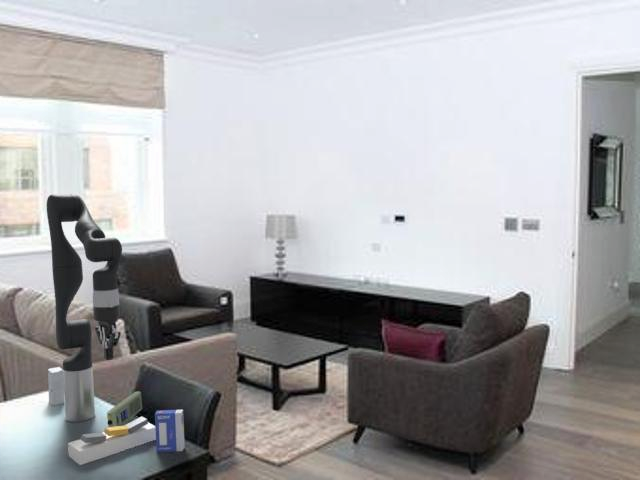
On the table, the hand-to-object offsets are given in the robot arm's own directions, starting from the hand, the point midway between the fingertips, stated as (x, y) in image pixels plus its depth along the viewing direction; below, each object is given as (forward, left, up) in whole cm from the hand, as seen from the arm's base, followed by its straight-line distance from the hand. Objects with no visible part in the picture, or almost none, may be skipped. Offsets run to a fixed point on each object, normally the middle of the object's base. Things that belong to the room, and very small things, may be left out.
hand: (109, 359), depth 192 cm
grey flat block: (+9, -10, -21) cm, 25 cm away
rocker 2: (+9, +4, -21) cm, 23 cm away
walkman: (+20, +8, -25) cm, 33 cm away
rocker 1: (+9, -3, -21) cm, 23 cm away
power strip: (+7, -3, -25) cm, 26 cm away
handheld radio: (-9, +7, -25) cm, 28 cm away
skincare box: (-44, 0, -25) cm, 51 cm away
